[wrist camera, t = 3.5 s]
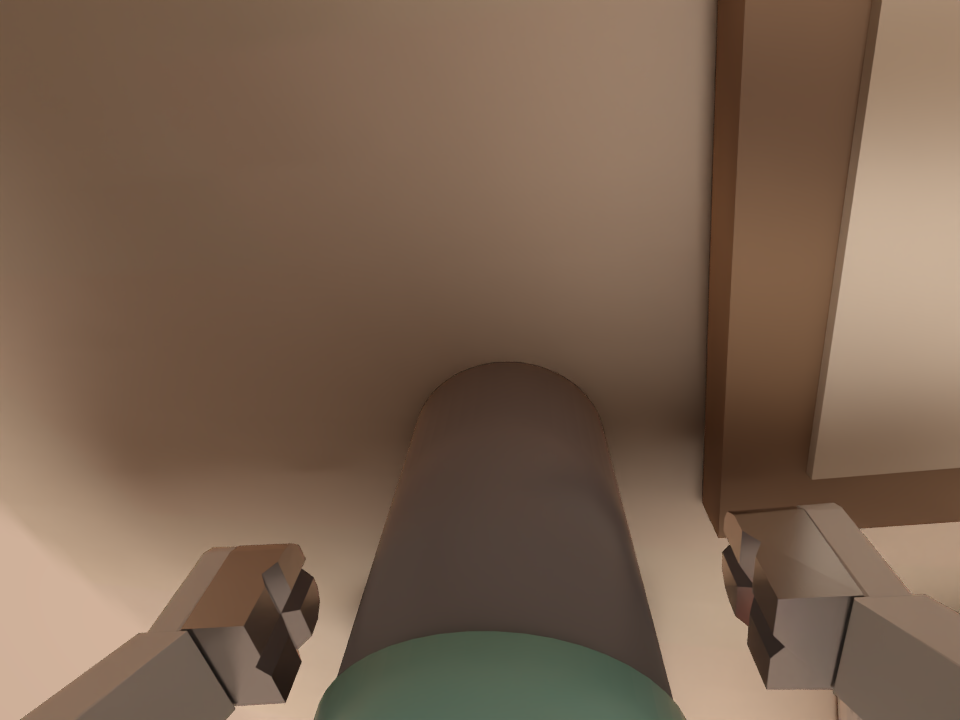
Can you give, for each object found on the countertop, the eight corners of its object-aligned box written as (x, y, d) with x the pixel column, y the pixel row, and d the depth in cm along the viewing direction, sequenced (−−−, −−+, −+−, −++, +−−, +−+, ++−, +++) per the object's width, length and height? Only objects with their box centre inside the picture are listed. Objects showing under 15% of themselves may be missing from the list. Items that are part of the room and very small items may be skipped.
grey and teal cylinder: (389, 370, 10) (194, 783, 4) (602, 345, 10) (751, 778, 4) (432, 526, 12) (343, 977, 6) (614, 513, 12) (725, 993, 5)
